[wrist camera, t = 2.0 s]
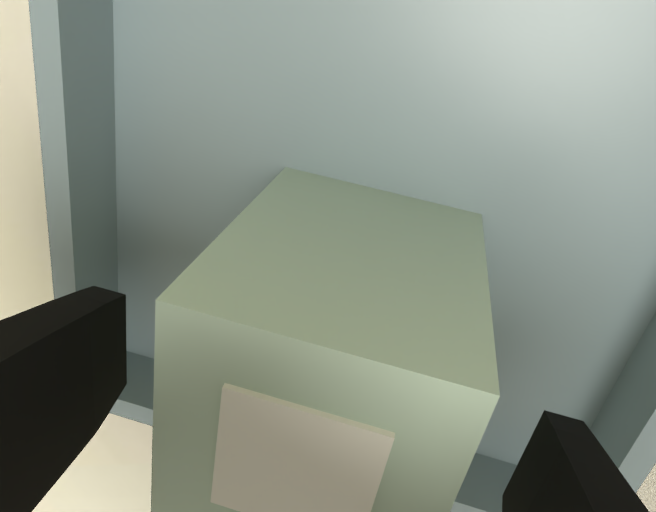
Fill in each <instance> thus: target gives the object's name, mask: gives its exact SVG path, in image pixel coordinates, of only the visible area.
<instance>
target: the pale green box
mask: <svg viewBox="0 0 656 512" xmlns="http://www.w3.org/2000/svg"><path fill="white" fill-rule="evenodd" d="M499 397H500V391H499V381H498V371H497V361H496V351H495V341H494V331H493V321H492V311H491V301H490V291H489V281H488V271H487V262H486V252H485V242H484V232H483V222H482V214H478V213H474V212H470V211H466V210H462V209H458V208H454V207H449V206H445V205H441V204H437V203H433V202H429V201H425V200H421V199H416V198H412V197H408V196H404V195H400V194H396V193H392V192H387V191H383V190H379V189H375V188H371V187H367V186H363V185H359V184H354V183H350V182H346V181H342V180H338V179H334V178H330V177H325V176H321V175H317V174H313V173H309V172H305V171H301V170H297V169H292V168H288V167H285V168H284V169H283V170H282V171H281V172H280V173H279V174H278V175H277V176H276V177H275V179H274V180H273V181H272V182H271V183H270V184H269V185H268V186H267V187H266V188H265V189H264V190H263V191H262V192H261V193H260V194H259V195H258V196H257V197H256V198H255V199H254V200H253V201H252V202H251V203H250V204H249V205H248V206H247V207H246V208H245V209H244V210H243V211H242V212H241V213H240V214H239V215H238V216H237V217H236V218H235V219H234V220H233V221H232V222H231V223H230V224H229V225H228V226H227V227H226V228H225V229H224V230H223V232H222V233H221V234H220V235H219V236H218V237H217V238H216V239H215V240H214V241H213V242H212V243H211V244H210V245H209V246H208V247H207V248H206V249H205V250H204V251H203V252H202V253H201V254H200V255H199V256H198V257H197V258H196V259H195V260H194V261H193V262H192V263H191V264H190V265H189V266H188V267H187V268H186V269H185V270H184V271H183V272H182V273H181V274H180V275H179V276H178V277H177V278H176V279H175V280H174V281H173V282H172V283H171V285H170V286H169V287H168V288H167V289H166V290H165V291H164V292H163V293H162V294H161V295H160V296H159V297H158V298H157V299H156V301H155V347H154V394H153V440H152V487H151V512H450V511H451V508H452V506H453V504H454V501H455V499H456V497H457V494H458V492H459V490H460V487H461V485H462V483H463V480H464V478H465V476H466V474H467V471H468V469H469V467H470V464H471V462H472V460H473V457H474V455H475V453H476V450H477V448H478V446H479V443H480V441H481V439H482V436H483V434H484V432H485V430H486V427H487V425H488V423H489V420H490V418H491V416H492V413H493V411H494V409H495V406H496V404H497V402H498V399H499Z"/></svg>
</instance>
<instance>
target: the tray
mask: <svg viewBox="0 0 656 512" xmlns="http://www.w3.org/2000/svg"><path fill="white" fill-rule="evenodd" d="M29 12H30V23H31V35H32V47H33V58H34V70H35V81H36V93H37V105H38V116H39V128H40V139H41V151H42V163H43V174H44V186H45V197H46V209H47V221H48V232H49V244H50V256H51V267H52V279H53V290H54V300H55V299H57V298H60V297H62V296H65V295H68V294H71V293H73V292H76V291H79V290H82V289H85V288H88V287H91V286H97V287H101V288H104V289H108V290H111V291H115V292H119V293H122V294H126V352H127V384H126V386H125V388H124V389H123V391H122V393H121V394H120V396H119V397H118V399H117V401H116V402H115V404H114V406H113V407H112V409H111V411H110V412H109V413H112V414H115V415H118V416H121V417H125V418H128V419H131V420H134V421H137V422H141V423H144V424H147V425H150V426H153V394H154V347H155V301H156V299H157V298H158V297H159V296H160V295H161V294H162V293H163V292H164V291H165V290H166V289H167V288H168V287H169V286H170V285H171V283H172V282H173V281H174V280H175V279H176V278H177V277H178V276H179V275H180V274H181V273H182V272H183V271H184V270H185V269H186V268H187V267H188V266H189V265H190V264H191V263H192V262H193V261H194V260H195V259H196V258H197V257H198V256H199V255H200V254H201V253H202V252H203V251H204V250H205V249H206V248H207V247H208V246H209V245H210V244H211V243H212V242H213V241H214V240H215V239H216V238H217V237H218V236H219V235H220V234H221V233H222V232H223V230H224V229H225V228H226V227H227V226H228V225H229V224H230V223H231V222H232V221H233V220H234V219H235V218H236V217H237V216H238V215H239V214H240V213H241V212H242V211H243V210H244V209H245V208H246V207H247V206H248V205H249V204H250V203H251V202H252V201H253V200H254V199H255V198H256V197H257V196H258V195H259V194H260V193H261V192H262V191H263V190H264V189H265V188H266V187H267V186H268V185H269V184H270V183H271V182H272V181H273V180H274V179H275V177H276V176H277V175H278V174H279V173H280V172H281V171H282V170H283V169H284V168H285V167H288V168H292V169H297V170H301V171H305V172H309V173H313V174H317V175H321V176H325V177H330V178H334V179H338V180H342V181H346V182H350V183H354V184H359V185H363V186H367V187H371V188H375V189H379V190H383V191H387V192H392V193H396V194H400V195H404V196H408V197H412V198H416V199H421V200H425V201H429V202H433V203H437V204H441V205H445V206H449V207H454V208H458V209H462V210H466V211H470V212H474V213H478V214H482V222H483V232H484V242H485V252H486V262H487V271H488V281H489V291H490V301H491V311H492V321H493V331H494V341H495V351H496V361H497V371H498V381H499V391H500V397H499V399H498V402H497V404H496V406H495V409H494V411H493V413H492V416H491V418H490V420H489V423H488V425H487V427H486V430H485V432H484V434H483V436H482V439H481V441H480V443H479V446H478V448H477V450H476V453H475V455H474V457H473V460H472V462H471V464H470V467H469V469H468V471H467V474H466V476H465V478H464V480H463V483H462V485H461V487H460V490H459V492H458V494H457V497H456V499H455V501H454V504H453V506H452V508H451V511H450V512H502V495H503V493H504V491H505V489H506V487H507V485H508V483H509V481H510V479H511V477H512V475H513V472H514V470H515V468H516V466H517V464H518V462H519V460H520V458H521V456H522V454H523V452H524V450H525V448H526V446H527V444H528V442H529V440H530V438H531V436H532V434H533V432H534V430H535V428H536V426H537V424H538V422H539V420H540V418H541V416H542V414H543V412H544V410H546V411H549V412H553V413H556V414H560V415H564V416H567V417H571V418H574V419H578V420H582V421H584V422H585V424H586V425H587V426H588V428H589V429H590V430H591V432H592V433H593V434H594V436H595V437H596V438H597V440H598V441H599V443H600V444H601V445H602V447H603V448H604V450H605V451H606V452H607V454H608V455H609V457H610V458H611V459H612V461H613V462H614V464H615V465H616V466H617V468H618V469H619V471H620V472H621V473H622V475H623V476H624V478H625V479H626V480H627V482H628V483H629V485H630V486H631V487H632V489H633V490H634V492H635V493H636V492H637V490H638V489H639V487H640V486H641V484H642V483H643V481H644V480H645V478H646V477H647V475H648V474H649V472H650V471H651V469H652V468H653V466H654V465H655V463H656V0H29Z"/></svg>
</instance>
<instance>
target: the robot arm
mask: <svg viewBox="0 0 656 512" xmlns="http://www.w3.org/2000/svg"><path fill="white" fill-rule="evenodd" d="M126 384H127V352H126V294H122V293H119V292H115V291H111V290H108V289H104V288H101V287H97V286H91V287H88V288H85V289H82V290H79V291H76V292H73V293H71V294H68V295H65V296H62V297H60V298H57V299H55V300H52V301H49V302H47V303H44V304H42V305H39V306H37V307H34V308H31V309H29V310H26V311H24V312H21V313H19V314H16V315H14V316H11V317H8V318H6V319H3V320H1V321H0V512H32V510H33V509H34V508H35V507H36V506H37V504H38V503H39V502H40V501H41V500H42V498H43V497H44V496H45V495H46V494H47V492H48V491H49V490H50V489H51V487H52V486H53V485H54V484H55V483H56V481H57V480H58V479H59V478H60V477H61V475H62V474H63V473H64V472H65V471H66V469H67V468H68V467H69V466H70V464H71V463H72V462H73V461H74V460H75V458H76V457H77V456H78V455H79V453H80V452H81V451H82V450H83V448H84V447H85V446H86V445H87V444H88V442H89V441H90V440H91V438H92V437H93V436H94V435H95V433H96V432H97V430H98V429H99V427H100V426H101V424H102V423H103V421H104V420H105V418H106V417H107V415H108V414H109V412H110V411H111V409H112V407H113V406H114V404H115V402H116V401H117V399H118V397H119V396H120V394H121V393H122V391H123V389H124V388H125V386H126ZM502 512H649V511H648V510H647V508H646V507H645V506H644V504H643V503H642V502H641V500H640V499H639V497H638V496H637V494H636V493H635V492H634V490H633V489H632V487H631V486H630V485H629V483H628V482H627V480H626V479H625V478H624V476H623V475H622V473H621V472H620V471H619V469H618V468H617V466H616V465H615V464H614V462H613V461H612V459H611V458H610V457H609V455H608V454H607V452H606V451H605V450H604V448H603V447H602V445H601V444H600V443H599V441H598V440H597V438H596V437H595V436H594V434H593V433H592V432H591V430H590V429H589V428H588V426H587V425H586V424H585V422H584V421H582V420H578V419H574V418H571V417H567V416H564V415H560V414H556V413H553V412H549V411H546V410H544V412H543V414H542V416H541V418H540V420H539V422H538V424H537V426H536V428H535V430H534V432H533V434H532V436H531V438H530V440H529V442H528V444H527V446H526V448H525V450H524V452H523V454H522V456H521V458H520V460H519V462H518V464H517V466H516V468H515V470H514V472H513V475H512V477H511V479H510V481H509V483H508V485H507V487H506V489H505V491H504V493H503V495H502Z"/></svg>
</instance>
